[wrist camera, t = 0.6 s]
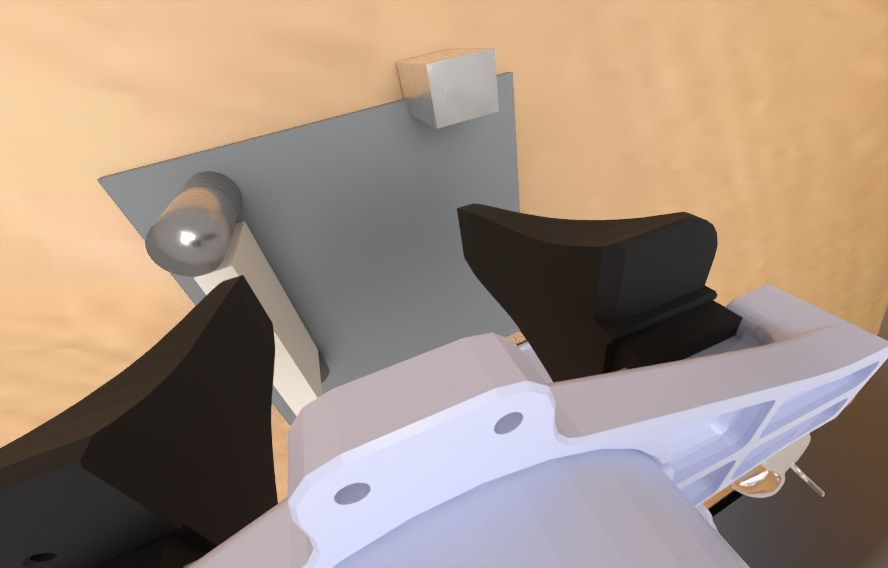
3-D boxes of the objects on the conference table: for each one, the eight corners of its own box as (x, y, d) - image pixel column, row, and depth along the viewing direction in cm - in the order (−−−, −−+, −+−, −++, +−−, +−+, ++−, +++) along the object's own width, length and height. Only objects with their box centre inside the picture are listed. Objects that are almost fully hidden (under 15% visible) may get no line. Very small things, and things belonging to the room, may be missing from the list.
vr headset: (710, 422, 64) (800, 501, 53) (761, 390, 65) (861, 461, 54) (702, 460, 76) (775, 532, 64) (746, 433, 76) (826, 499, 65)
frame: (464, 96, 20) (525, 111, 15) (212, 223, 19) (182, 287, 14) (446, 37, 18) (509, 30, 13) (167, 173, 17) (113, 226, 12)
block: (328, 359, 25) (335, 417, 21) (300, 370, 25) (302, 431, 21) (249, 218, 19) (238, 263, 15) (209, 230, 18) (187, 280, 14)
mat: (523, 325, 32) (525, 328, 31) (289, 420, 28) (289, 425, 28) (509, 72, 20) (512, 72, 20) (100, 177, 16) (96, 179, 16)
